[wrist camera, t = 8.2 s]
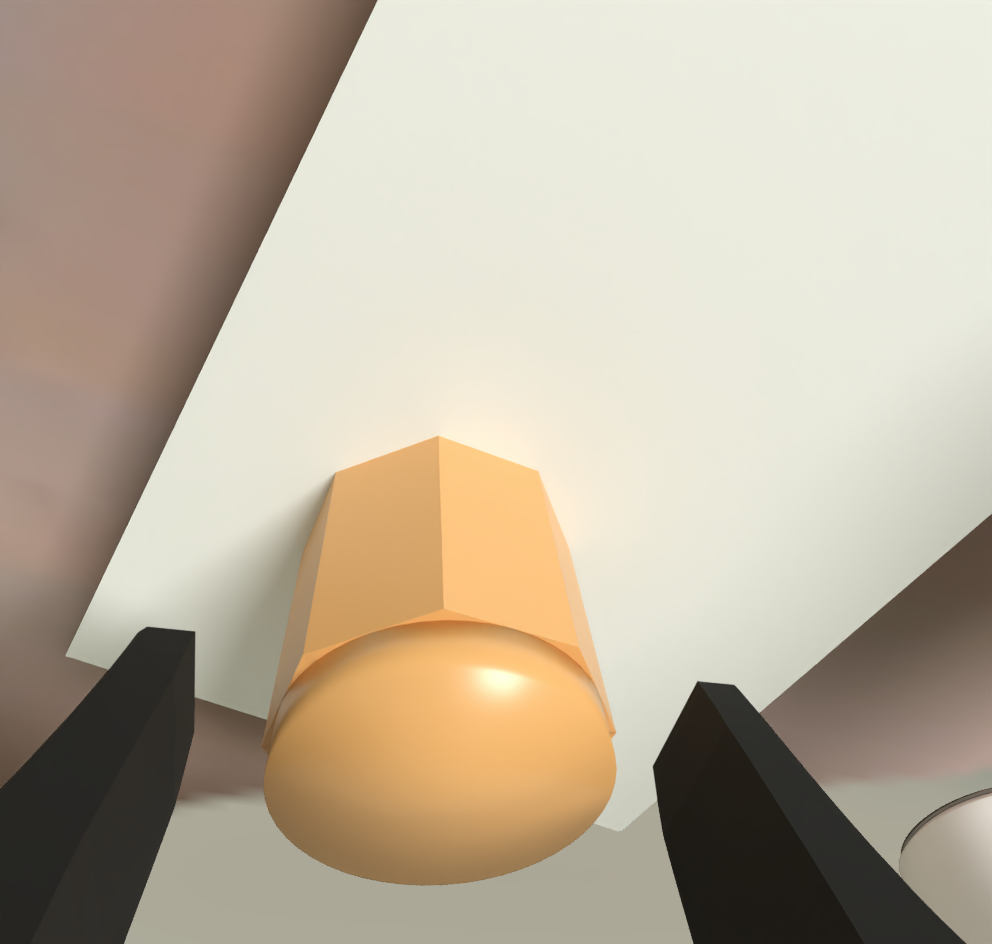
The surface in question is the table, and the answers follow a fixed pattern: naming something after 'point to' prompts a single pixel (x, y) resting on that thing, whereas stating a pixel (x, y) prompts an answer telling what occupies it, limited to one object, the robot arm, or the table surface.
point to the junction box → (611, 332)
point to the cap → (437, 676)
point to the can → (954, 865)
